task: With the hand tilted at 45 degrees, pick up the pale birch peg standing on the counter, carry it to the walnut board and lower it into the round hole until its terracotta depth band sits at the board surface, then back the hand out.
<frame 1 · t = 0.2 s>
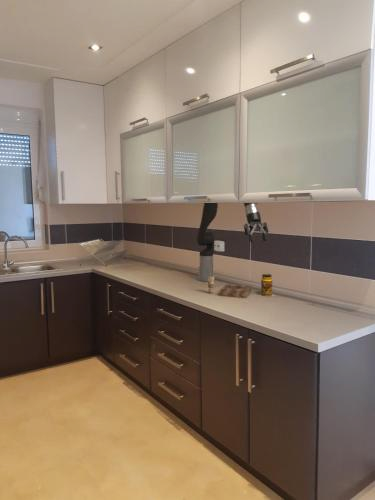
hand: (258, 241, 215), 31 cm above the table, tool tilted 20°, fingers open, 8 cm apart
peg: (211, 293, 229), on the table
board: (236, 294, 226), on the table
condiment: (266, 295, 223), on the table
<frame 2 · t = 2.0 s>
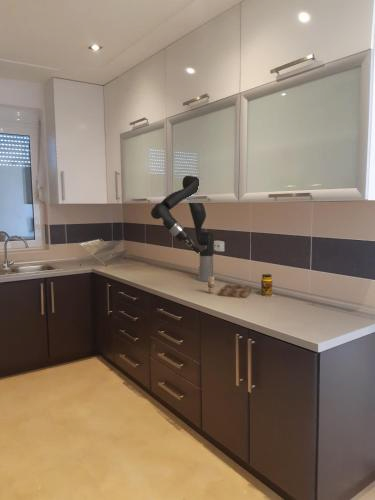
hand: (198, 251, 226), 25 cm above the table, tool tilted 45°, fingers open, 8 cm apart
nothing on the table moved.
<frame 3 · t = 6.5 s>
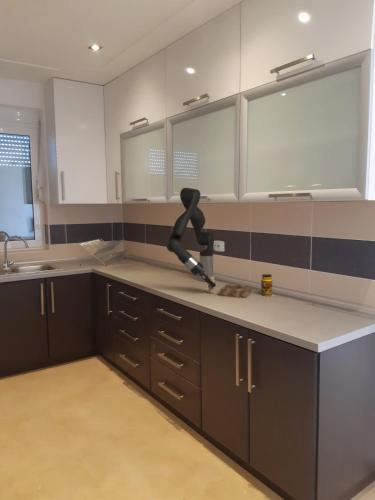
hand: (214, 285, 228), 5 cm above the table, tool tilted 45°, fingers closed on peg, 3 cm apart
peg: (211, 293, 229), on the table, touching gripper
everything else where it was.
when the fingers open (5 cm above the table, at t = 12.6 s): peg stays where it is, resting in board.
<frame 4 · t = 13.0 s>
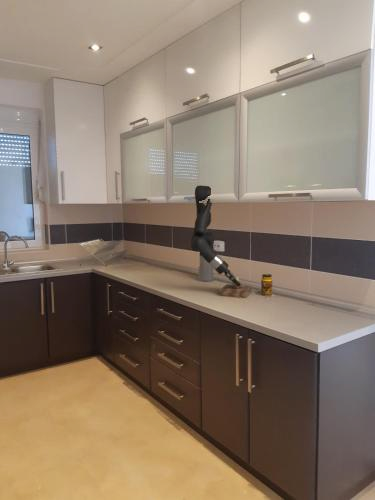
hand: (238, 284, 225), 6 cm above the table, tool tilted 45°, fingers open, 7 cm apart
peg: (235, 294, 226), resting in board
everything else where it was.
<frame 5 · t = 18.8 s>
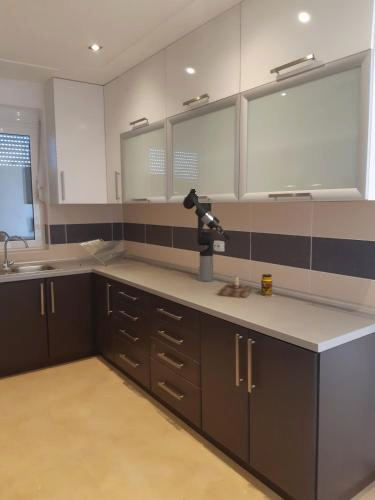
hand: (229, 238, 238), 31 cm above the table, tool tilted 45°, fingers open, 8 cm apart
nothing on the table moved.
at the end: peg 0.1 cm off-centre on the board, point 0.0 cm above the board's base; peg tilted 2°; the gripper is holding nothing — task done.
